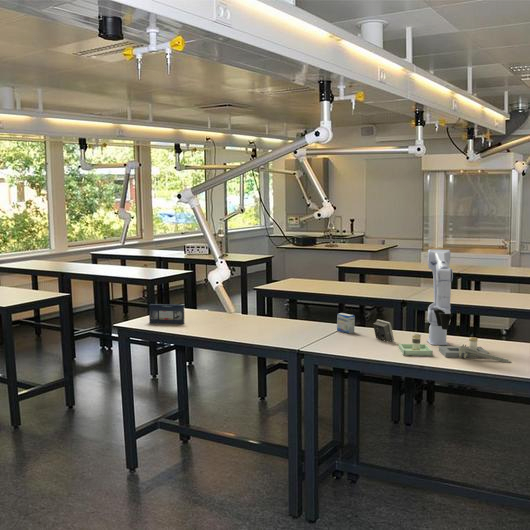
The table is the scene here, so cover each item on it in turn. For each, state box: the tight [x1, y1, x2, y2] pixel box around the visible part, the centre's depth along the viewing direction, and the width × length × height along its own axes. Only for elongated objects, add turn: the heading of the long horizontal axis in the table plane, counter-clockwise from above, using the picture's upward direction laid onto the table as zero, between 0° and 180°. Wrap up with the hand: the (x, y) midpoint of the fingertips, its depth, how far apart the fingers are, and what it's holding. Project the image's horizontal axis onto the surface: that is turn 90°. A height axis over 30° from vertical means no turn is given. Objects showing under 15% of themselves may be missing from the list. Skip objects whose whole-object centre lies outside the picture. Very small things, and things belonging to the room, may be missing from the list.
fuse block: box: [438, 345, 490, 359], centre depth 257 cm, size 11×18×2 cm, turn 88°
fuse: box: [468, 336, 478, 350], centre depth 257 cm, size 3×3×7 cm
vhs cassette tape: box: [148, 303, 185, 325], centre depth 316 cm, size 18×3×10 cm, turn 83°
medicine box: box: [336, 312, 356, 334], centre depth 299 cm, size 8×4×9 cm, turn 42°
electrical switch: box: [372, 319, 395, 342], centre depth 282 cm, size 9×5×9 cm, turn 29°
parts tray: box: [397, 343, 434, 357], centre depth 260 cm, size 12×12×2 cm
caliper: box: [458, 344, 513, 364], centre depth 248 cm, size 20×1×6 cm, turn 71°
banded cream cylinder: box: [411, 333, 422, 350], centre depth 259 cm, size 3×3×7 cm
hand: (442, 327), depth 261 cm, fingers open, 7 cm apart
